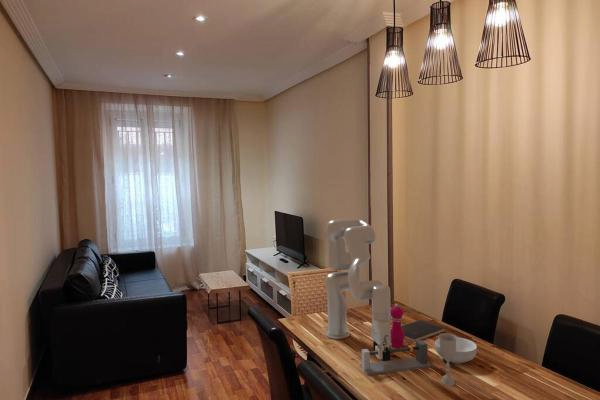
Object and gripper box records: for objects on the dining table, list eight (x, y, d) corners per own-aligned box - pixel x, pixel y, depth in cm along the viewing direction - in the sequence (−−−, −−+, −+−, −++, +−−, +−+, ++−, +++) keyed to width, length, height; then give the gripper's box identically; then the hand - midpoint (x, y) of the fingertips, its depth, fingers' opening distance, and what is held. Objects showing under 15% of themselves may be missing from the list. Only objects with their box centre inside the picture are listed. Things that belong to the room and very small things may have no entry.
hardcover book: (444, 332, 213) (444, 328, 213) (413, 343, 200) (413, 338, 200) (420, 323, 226) (419, 319, 226) (389, 333, 213) (389, 328, 213)
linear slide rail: (359, 366, 176) (359, 345, 176) (421, 359, 182) (421, 338, 181) (366, 375, 168) (366, 353, 168) (430, 367, 174) (430, 345, 174)
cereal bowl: (475, 353, 186) (475, 338, 186) (478, 370, 170) (478, 353, 170) (435, 349, 192) (435, 334, 191) (434, 365, 176) (434, 349, 176)
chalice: (435, 378, 165) (435, 333, 164) (452, 377, 165) (452, 332, 164) (443, 387, 158) (443, 341, 156) (460, 386, 158) (460, 340, 157)
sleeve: (375, 355, 175) (375, 346, 175) (384, 354, 176) (384, 345, 176) (379, 359, 171) (378, 349, 171) (388, 358, 172) (388, 348, 172)
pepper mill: (405, 349, 193) (404, 306, 191) (389, 348, 194) (388, 305, 193) (404, 342, 200) (404, 301, 198) (389, 341, 201) (388, 301, 200)
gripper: (365, 309, 180) (365, 348, 181) (380, 323, 163) (381, 365, 165) (381, 307, 182) (381, 346, 183) (398, 321, 165) (399, 363, 166)
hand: (381, 355), depth 174 cm, fingers open, 9 cm apart
